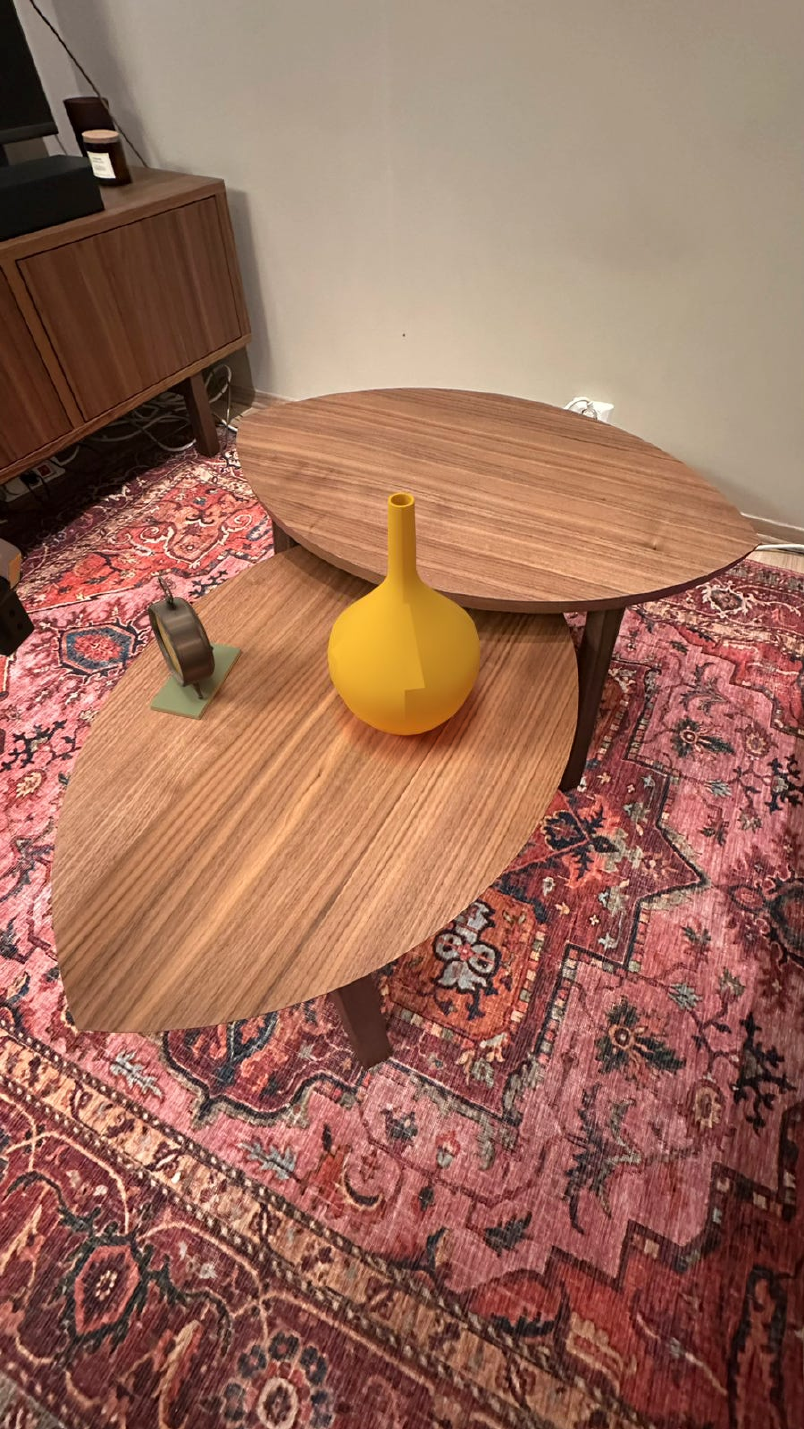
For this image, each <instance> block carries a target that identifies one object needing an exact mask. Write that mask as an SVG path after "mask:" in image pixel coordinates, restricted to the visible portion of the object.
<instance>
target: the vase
mask: <svg viewBox="0 0 804 1429" xmlns="http://www.w3.org/2000/svg"><path fill="white" fill-rule="evenodd" d="M415 500H416V499H415V497H414V496H413V495H412V494H410V493H407V492H395V493H392V494H390V495H389V496H388V497H387V563H388V565H387V566H388V570H387V574H386V577H385V578H384V580H383V582H382V583H380V584H379V585H378V586H376V587H375V588H374V589H373V590H372V591H371V592H368V594H365V595H364V596H363V597H361V598H359V599H358V600H356V601H355V602H353V603H352V604H350V606H348V607H347V608H345V609H344V610H343V611H342V612H341V613H340V614H339V616H338V617H337V618H336V620H335V622H334V623H333V624H332V628H331V632H330V635H329V640H328V646H327V652H326V653H327V662H328V670H329V676H330V679H331V681H332V683H333V686H334V688H335V690H336V691H337V693H338V695H339V696H340V697H341V699H342V701H343V702H344V704H345V705H346V706H347V708H348V709H349V710H350V711H351V712H352V713H353V714H354V715H355V716H356V717H357V718H358V719H359V720H360V721H363V722H364V723H366V724H367V725H369V726H370V727H372V728H374V729H376V730H378V731H380V732H384V733H387V734H390V735H398V736H411V735H419V734H423V733H426V732H429V731H432V730H434V729H435V728H437V727H439V726H440V725H441V724H443V723H445V722H446V721H448V720H449V719H451V718H452V717H453V716H454V715H455V714H456V713H457V712H458V711H459V710H460V708H462V706H463V705H464V703H465V702H466V700H467V698H468V697H469V695H470V693H471V691H473V688H474V686H475V684H476V682H477V679H478V677H479V672H480V666H481V656H482V655H481V651H482V648H481V642H480V639H479V634H478V630H477V627H476V624H475V622H474V620H473V619H472V617H471V616H470V615H469V613H468V612H467V611H466V609H464V608H463V607H462V606H460V605H459V604H458V603H456V602H455V601H454V600H452V599H450V598H448V597H446V596H445V595H443V594H441V593H439V592H438V591H436V590H435V589H433V588H432V587H430V585H428V584H427V583H426V582H424V581H423V580H422V579H421V577H420V576H419V572H418V570H417V531H416V530H417V528H416V502H415Z"/></svg>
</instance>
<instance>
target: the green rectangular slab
mask: <svg viewBox="0 0 804 1429" xmlns="http://www.w3.org/2000/svg"><path fill="white" fill-rule="evenodd" d="M210 644H211V646H213V648H214V650H212V651H213V655H214V661H215V669H214V672H213V674H212V676H210V677H209V678H206V679H204V680H201V681H198V684H199V687H200V690H201V694H202V695H203V699H199V698H198V694H197V692H196V691H195V688H194V686H193V685H192V684H191V685H188V686H186V687H183V686H181V685H180V684H179V683H178V682H177V680H176V679H175V677H174V676H173V674H172V673H171V674H170V676H169V677H168V678H167V680H166V682H165V683H164V684H163V686H162V687H161V688H160V690H159V691H158V693H157V694H156V696H155V697H154V699H152V701H151V703H150V704H149V708H150V710H151V711H157V712H160V713H166V714H170V715H175V716H179V717H183V718H188V719H193V720H198V721H200V720H201V718H202V717H203V716H204V713H205V712H206V711H207V709H208V708H209V706H210V704H211V703H212V701H213V700H214V698H215V696H216V695H217V693H218V691H219V690H220V688H221V687H222V686H223V683H224V682H225V680H226V679H227V677H228V676H229V674H230V672H231V671H232V670H233V668H234V666H235V664H236V663H237V661H238V660H239V658H240V657H241V655H242V653H243V650H242V648H241V647H236V646H231V645H225V644H222V643H216V642H210Z"/></svg>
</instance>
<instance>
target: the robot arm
mask: <svg viewBox="0 0 804 1429" xmlns="http://www.w3.org/2000/svg"><path fill="white" fill-rule="evenodd" d="M23 578H24V574H23V571H22V553H21V550H20V549H19V548H18V547H17V546H15V545H14V544H12V543H10V542H9V541H6V539H5V540H4V539H3V538H1V537H0V656H4V657H11V656H13V655H14V654H15V652H16V651H17V650H18V649H19V648H20V647H21V646H22V645H23V644H24V643H25V642H26V641H27V639H28V638H30V636H31V635H32V634H33V633H34V631H35V624H34V623H33V621H32V619H31V616H30V615H29V613H28V612H27V610H26V609H25V608H26V607H24V605H23V603H22V601H21V600H20V597H19V596H18V594H17V592H16V590H17V589H18V588H19V586H20V582H21V581H22V580H23Z"/></svg>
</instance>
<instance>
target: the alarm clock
mask: <svg viewBox="0 0 804 1429" xmlns="http://www.w3.org/2000/svg"><path fill="white" fill-rule="evenodd" d="M157 581H158V584H159V585H160V588H161V590H162V592H163V593H164V595H165V597H164V600H162V601H158V602H156V603H152V604H149V605H148V607H147V615H148V619H149V623H150V626H151V629H152V631H153V632H152V633H153V636H154V638H155V640H156V643H157V645H158V647H159V650H160V652H161V655H162V657H163V658H164V660H165V662H166V665H167V667H168V669H169V671H170V673H171V674H173V676H174V677H175V679H176V680H177V682H178V683H179V684H180V685H181V686H183V687H186V686H188V685H191V684H192V685H193V686H194V688H195V691H196V692H197V694H198V698H199V699H203V695H202V694H201V690H200V687H199V684H198V681H201V680H204V679H206V678H209V677H210V676H212V674H213V672H214V669H215V661H214V655H213V651H212V650H214V648H213V646H211V644H210V643H211V642H210V639H209V636H208V634H207V632H206V629H205V627H204V625H203V622H202V620H201V619H200V617H199V613H198V612H196V610H195V609H194V607H193V606H192V604H191V603H190V602H189V601H188V600H187V599H185V598H184V597H181V596H174V595H173V593H172V590H171V589H170V587H169V584H168V583H167V582H166V580H165V579H164V578H163V577H162V576H157ZM167 592H168V593H167Z"/></svg>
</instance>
